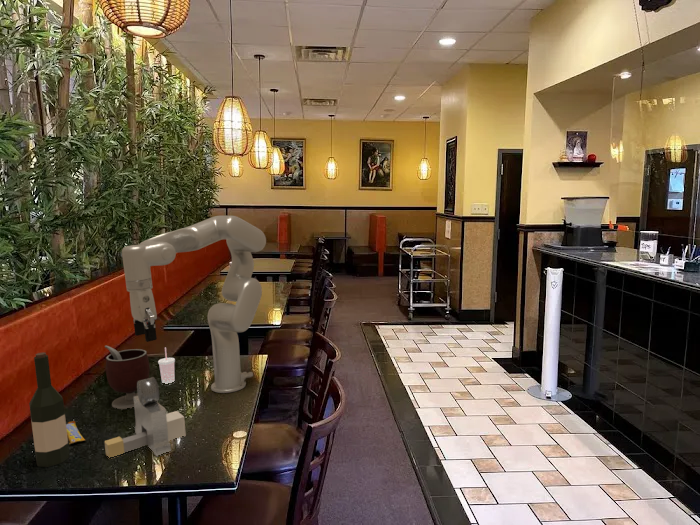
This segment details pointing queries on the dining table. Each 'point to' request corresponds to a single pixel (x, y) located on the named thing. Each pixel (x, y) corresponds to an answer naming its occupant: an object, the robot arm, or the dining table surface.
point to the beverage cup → (167, 369)
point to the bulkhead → (151, 416)
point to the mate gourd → (126, 374)
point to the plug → (145, 436)
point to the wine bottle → (48, 418)
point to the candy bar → (73, 433)
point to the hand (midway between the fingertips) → (145, 337)
